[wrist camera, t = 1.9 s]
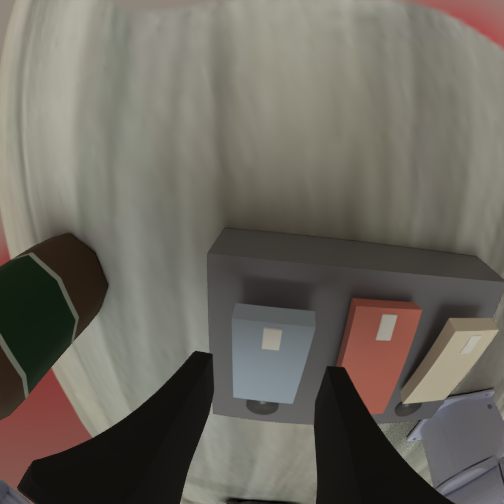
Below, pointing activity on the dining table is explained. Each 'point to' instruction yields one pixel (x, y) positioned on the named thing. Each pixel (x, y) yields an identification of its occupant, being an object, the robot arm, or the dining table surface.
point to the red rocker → (377, 347)
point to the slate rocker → (269, 351)
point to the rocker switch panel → (335, 306)
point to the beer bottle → (44, 311)
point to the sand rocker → (449, 359)
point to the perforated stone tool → (251, 502)
